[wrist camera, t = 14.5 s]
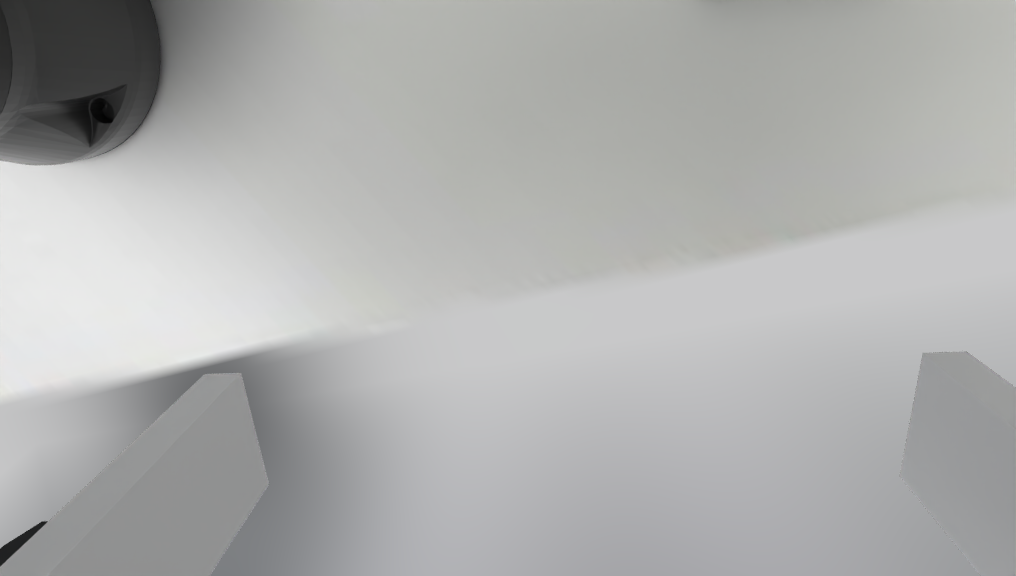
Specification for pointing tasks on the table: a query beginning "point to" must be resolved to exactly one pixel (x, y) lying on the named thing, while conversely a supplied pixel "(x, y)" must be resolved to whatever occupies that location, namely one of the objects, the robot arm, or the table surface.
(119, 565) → the robot arm
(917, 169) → the table surface
